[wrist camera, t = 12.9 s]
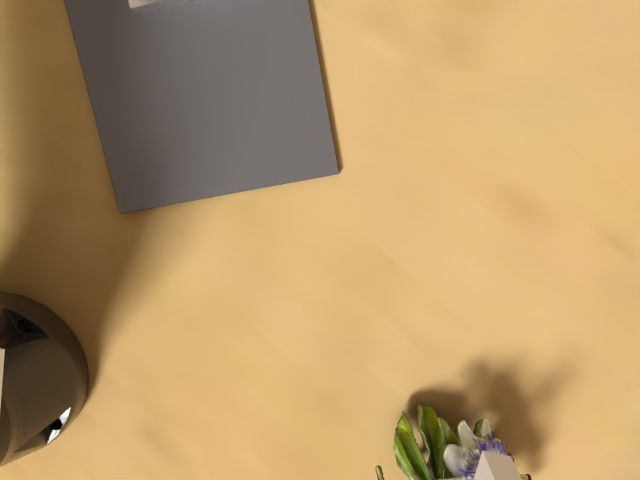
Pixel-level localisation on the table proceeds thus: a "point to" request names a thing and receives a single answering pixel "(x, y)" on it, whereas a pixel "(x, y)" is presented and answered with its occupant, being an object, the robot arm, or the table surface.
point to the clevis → (160, 5)
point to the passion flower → (443, 448)
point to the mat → (204, 97)
